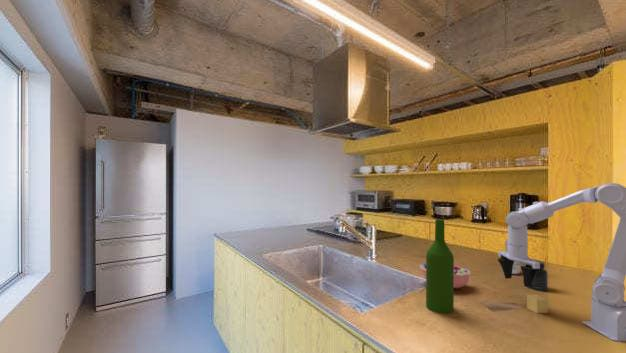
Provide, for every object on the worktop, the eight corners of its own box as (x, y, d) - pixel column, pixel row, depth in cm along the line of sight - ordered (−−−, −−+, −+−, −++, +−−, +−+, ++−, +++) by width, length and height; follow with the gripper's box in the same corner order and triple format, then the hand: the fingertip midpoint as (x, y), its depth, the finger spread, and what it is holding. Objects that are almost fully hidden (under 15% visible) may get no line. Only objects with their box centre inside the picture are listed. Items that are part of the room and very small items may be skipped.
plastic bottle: (501, 272, 135) (501, 232, 135) (509, 270, 138) (509, 231, 138) (515, 276, 130) (515, 235, 130) (523, 274, 132) (523, 233, 132)
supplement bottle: (526, 285, 119) (526, 258, 119) (547, 289, 115) (547, 261, 115) (526, 290, 114) (526, 262, 114) (548, 295, 109) (548, 265, 109)
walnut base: (538, 323, 88) (538, 319, 88) (500, 322, 89) (500, 318, 89) (514, 306, 100) (514, 302, 100) (480, 304, 101) (480, 301, 101)
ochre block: (547, 317, 92) (547, 299, 92) (537, 317, 92) (537, 299, 92) (537, 311, 96) (537, 294, 96) (526, 311, 96) (526, 294, 96)
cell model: (475, 299, 106) (475, 270, 106) (420, 292, 112) (420, 264, 112) (466, 283, 122) (466, 258, 122) (418, 277, 128) (418, 253, 128)
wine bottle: (439, 302, 103) (439, 217, 103) (459, 314, 94) (459, 221, 94) (420, 306, 99) (420, 218, 99) (440, 318, 91) (440, 222, 91)
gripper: (547, 249, 91) (547, 289, 91) (509, 239, 105) (509, 274, 105) (529, 250, 90) (529, 291, 90) (493, 240, 104) (493, 275, 104)
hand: (517, 282), depth 98 cm, fingers open, 7 cm apart
